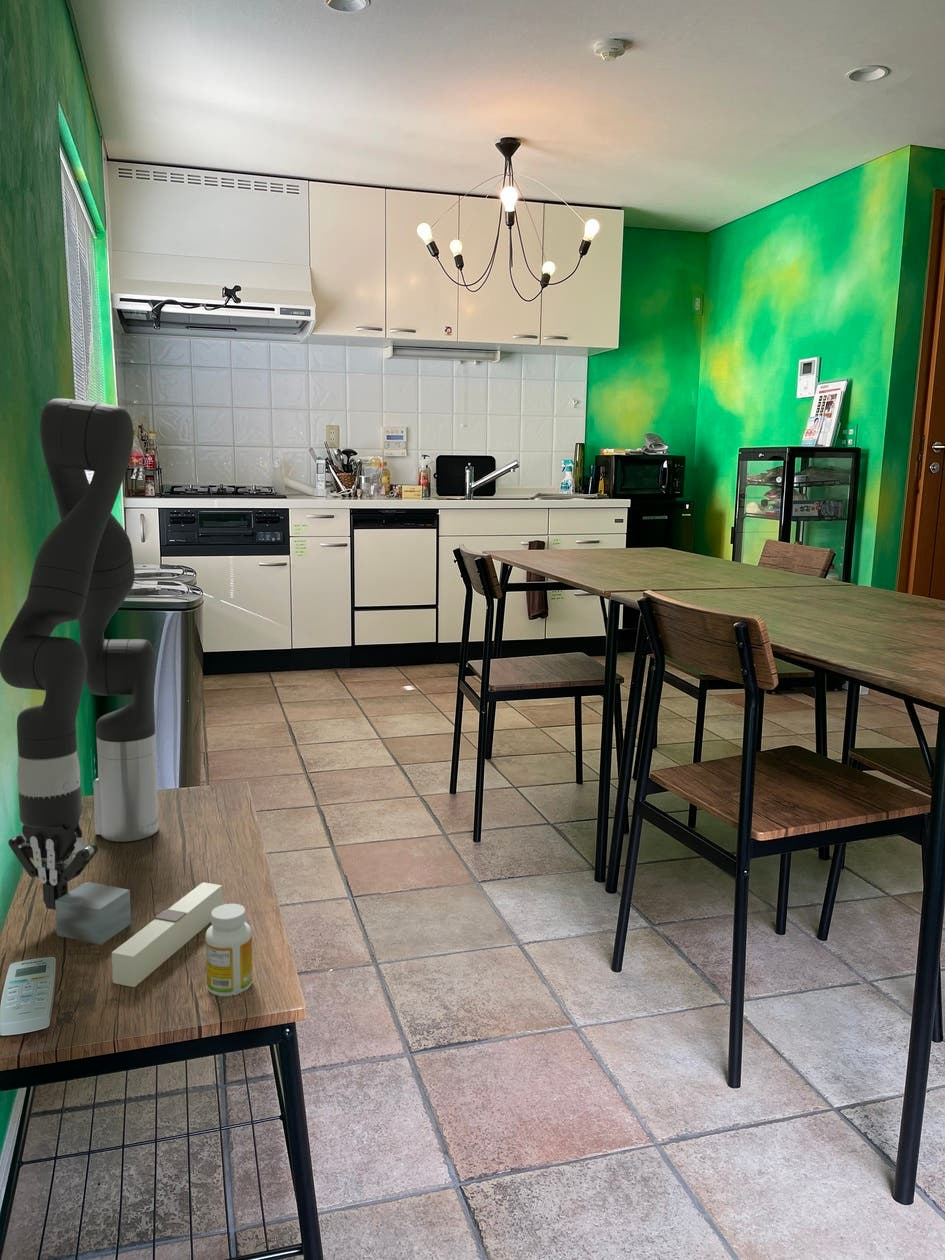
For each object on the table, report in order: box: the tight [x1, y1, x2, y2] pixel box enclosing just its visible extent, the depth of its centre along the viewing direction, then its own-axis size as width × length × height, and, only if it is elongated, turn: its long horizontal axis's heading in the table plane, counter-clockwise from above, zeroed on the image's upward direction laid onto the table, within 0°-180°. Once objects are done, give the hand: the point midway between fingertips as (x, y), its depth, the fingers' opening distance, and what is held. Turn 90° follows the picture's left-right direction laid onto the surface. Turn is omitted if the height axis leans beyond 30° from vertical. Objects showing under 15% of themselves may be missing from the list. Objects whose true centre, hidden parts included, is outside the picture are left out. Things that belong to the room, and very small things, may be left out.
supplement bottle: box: [205, 903, 253, 997], centre depth 110 cm, size 5×5×10 cm
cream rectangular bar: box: [111, 882, 223, 988], centre depth 120 cm, size 3×20×4 cm, turn 164°
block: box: [55, 881, 132, 946], centre depth 123 cm, size 7×6×5 cm
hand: (55, 906), depth 124 cm, fingers closed
